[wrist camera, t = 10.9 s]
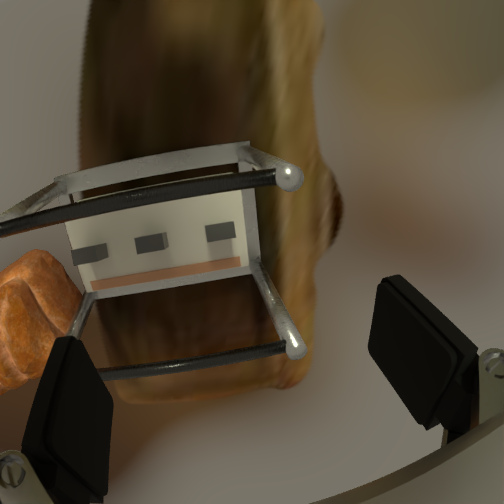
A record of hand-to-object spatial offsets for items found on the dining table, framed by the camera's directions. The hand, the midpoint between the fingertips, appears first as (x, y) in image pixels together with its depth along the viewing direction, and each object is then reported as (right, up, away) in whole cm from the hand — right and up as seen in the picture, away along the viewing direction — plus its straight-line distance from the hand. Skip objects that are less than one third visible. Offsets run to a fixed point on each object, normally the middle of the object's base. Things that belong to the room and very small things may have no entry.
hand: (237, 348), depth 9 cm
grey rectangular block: (-17, +3, +24) cm, 29 cm away
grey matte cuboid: (-3, +5, +25) cm, 26 cm away
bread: (-36, -6, +31) cm, 48 cm away
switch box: (-11, +6, +30) cm, 33 cm away
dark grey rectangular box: (-10, +4, +24) cm, 27 cm away
